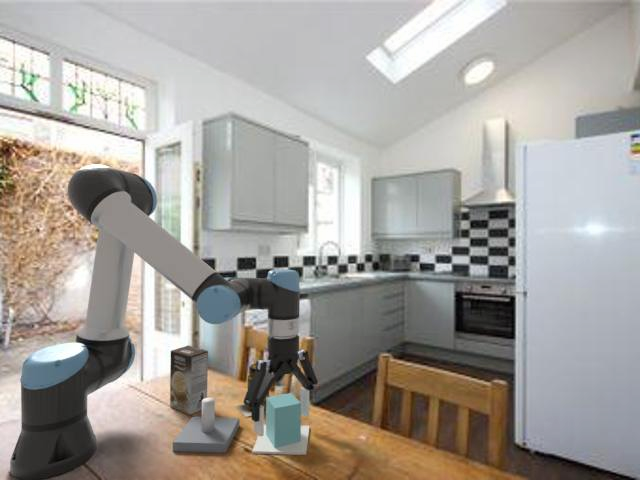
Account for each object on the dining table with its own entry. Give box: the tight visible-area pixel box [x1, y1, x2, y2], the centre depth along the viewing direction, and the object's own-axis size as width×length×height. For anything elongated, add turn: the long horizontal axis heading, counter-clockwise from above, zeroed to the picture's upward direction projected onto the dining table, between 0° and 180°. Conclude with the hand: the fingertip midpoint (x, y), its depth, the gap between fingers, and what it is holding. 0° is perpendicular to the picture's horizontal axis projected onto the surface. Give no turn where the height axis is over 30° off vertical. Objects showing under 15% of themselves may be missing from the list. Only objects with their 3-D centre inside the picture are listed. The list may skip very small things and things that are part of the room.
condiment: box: [236, 363, 270, 418], centre depth 106 cm, size 7×8×12 cm
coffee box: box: [169, 344, 209, 415], centre depth 106 cm, size 9×6×16 cm
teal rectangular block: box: [265, 392, 302, 448], centre depth 89 cm, size 6×6×9 cm
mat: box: [251, 423, 311, 456], centre depth 89 cm, size 12×12×1 cm
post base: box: [172, 397, 240, 454], centre depth 90 cm, size 12×12×9 cm
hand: (282, 424), depth 89 cm, fingers open, 13 cm apart
